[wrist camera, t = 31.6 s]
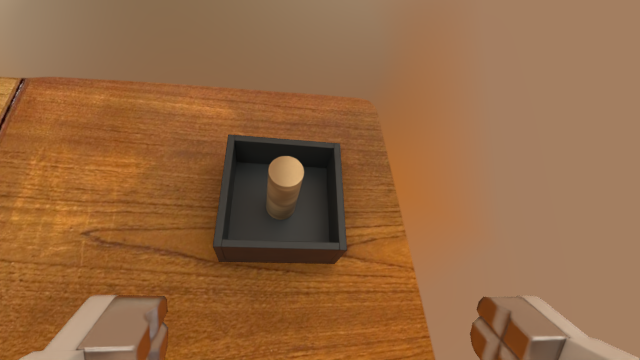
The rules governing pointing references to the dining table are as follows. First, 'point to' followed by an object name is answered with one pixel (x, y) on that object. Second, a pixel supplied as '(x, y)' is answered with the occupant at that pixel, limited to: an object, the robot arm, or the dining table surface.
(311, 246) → the bin
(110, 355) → the robot arm
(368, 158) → the dining table surface
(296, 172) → the dowel
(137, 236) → the dining table surface
